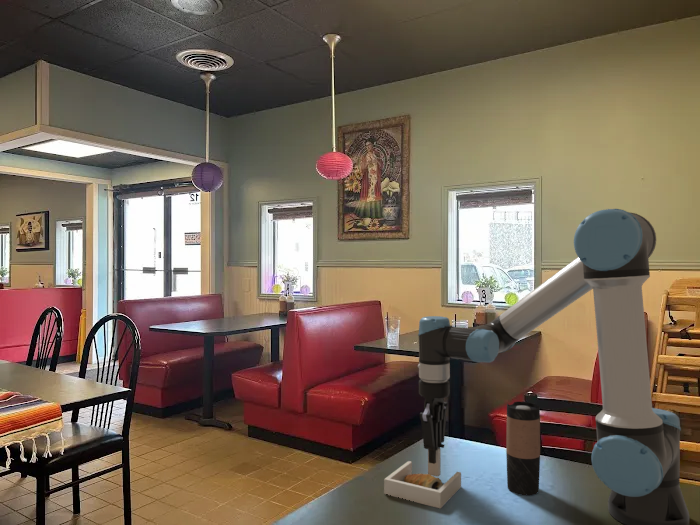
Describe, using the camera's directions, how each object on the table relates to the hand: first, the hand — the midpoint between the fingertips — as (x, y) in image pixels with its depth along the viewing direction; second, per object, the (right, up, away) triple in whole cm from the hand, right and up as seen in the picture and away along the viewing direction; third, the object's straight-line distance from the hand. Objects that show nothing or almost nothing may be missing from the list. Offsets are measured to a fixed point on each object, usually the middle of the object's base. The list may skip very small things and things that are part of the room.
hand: (434, 474), depth 134 cm
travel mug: (+20, -2, -5) cm, 21 cm away
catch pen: (-4, -2, -5) cm, 7 cm away
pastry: (-3, -2, -5) cm, 6 cm away
